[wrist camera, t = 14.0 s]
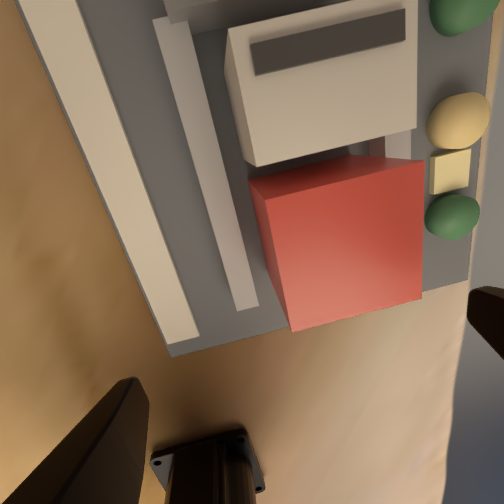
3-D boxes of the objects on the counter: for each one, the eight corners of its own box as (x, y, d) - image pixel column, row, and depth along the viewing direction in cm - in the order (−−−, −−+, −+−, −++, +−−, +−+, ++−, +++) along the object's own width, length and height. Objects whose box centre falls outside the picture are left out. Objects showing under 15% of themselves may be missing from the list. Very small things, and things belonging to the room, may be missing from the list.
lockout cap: (357, 250, 13) (421, 298, 9) (268, 273, 13) (291, 332, 9) (350, 154, 11) (424, 160, 7) (247, 179, 11) (265, 199, 7)
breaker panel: (449, 270, 16) (504, 299, 13) (174, 342, 15) (164, 390, 12) (489, -332, 8) (649, -612, 5) (-64, -224, 8) (-245, -463, 5)
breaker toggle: (349, 133, 11) (420, 127, 7) (243, 159, 11) (257, 167, 7) (342, 44, 10) (422, -19, 6) (223, 72, 10) (228, 25, 6)
